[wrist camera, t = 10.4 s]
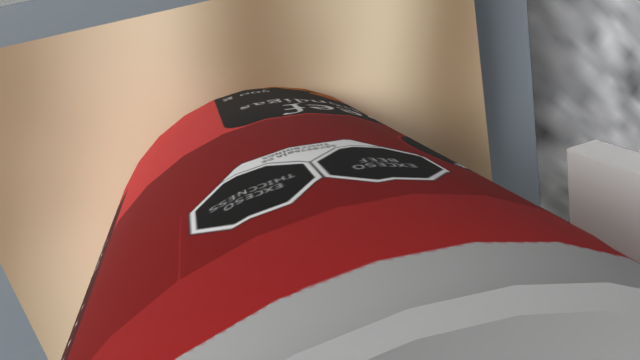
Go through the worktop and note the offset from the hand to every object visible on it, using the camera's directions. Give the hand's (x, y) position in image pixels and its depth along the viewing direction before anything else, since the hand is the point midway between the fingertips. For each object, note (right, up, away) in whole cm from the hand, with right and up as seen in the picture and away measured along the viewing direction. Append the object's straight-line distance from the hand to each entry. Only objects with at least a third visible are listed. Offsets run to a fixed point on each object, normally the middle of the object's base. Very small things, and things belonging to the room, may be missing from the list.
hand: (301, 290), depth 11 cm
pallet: (-2, +2, +6) cm, 6 cm away
